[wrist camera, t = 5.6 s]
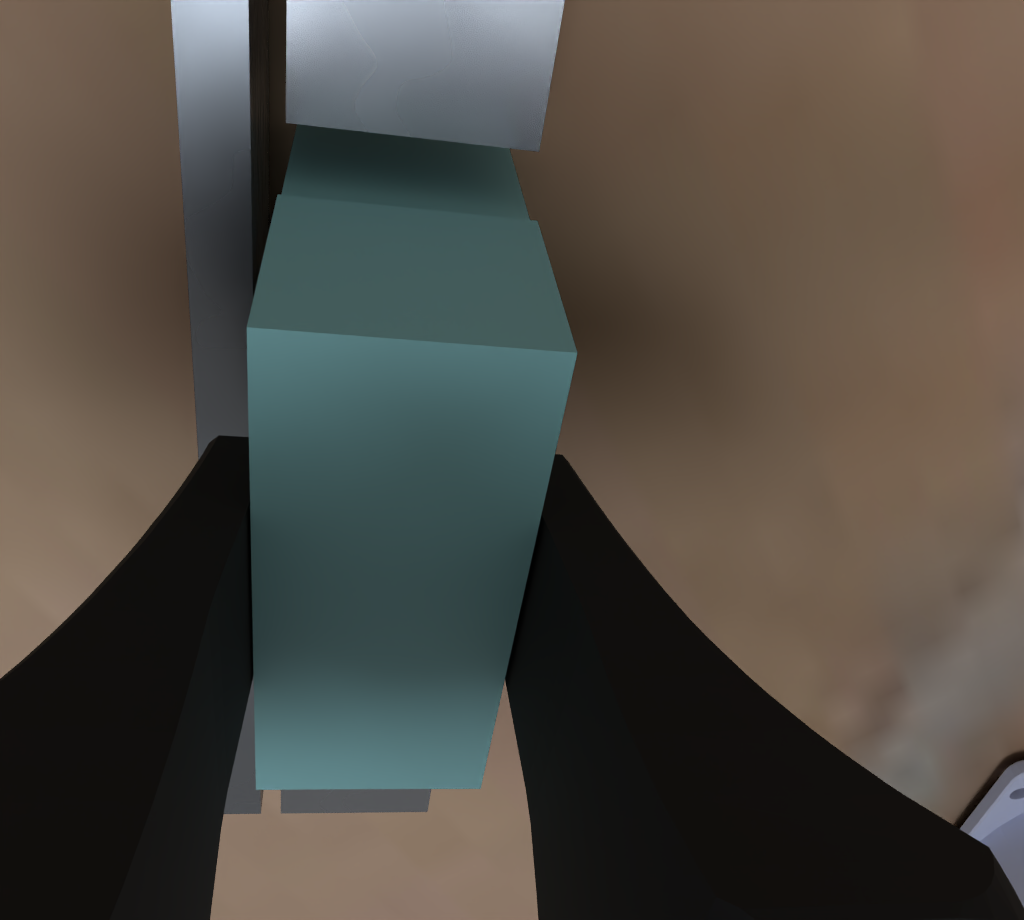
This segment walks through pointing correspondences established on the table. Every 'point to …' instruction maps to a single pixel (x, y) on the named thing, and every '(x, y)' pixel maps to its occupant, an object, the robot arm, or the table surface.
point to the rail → (341, 105)
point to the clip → (395, 456)
